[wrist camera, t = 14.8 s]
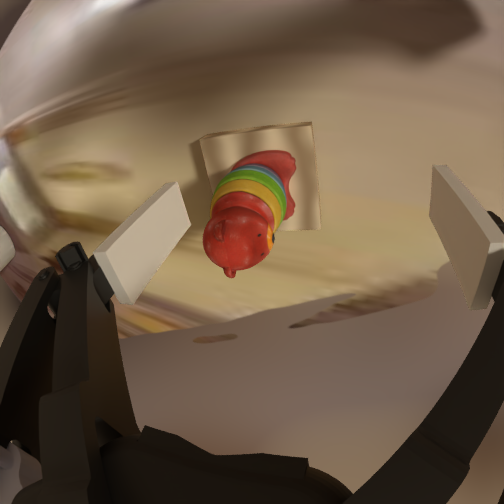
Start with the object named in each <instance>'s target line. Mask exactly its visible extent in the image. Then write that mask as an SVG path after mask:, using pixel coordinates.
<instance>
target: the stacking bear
mask: <svg viewBox="0 0 504 504" xmlns="http://www.w3.org/2000/svg"><path fill="white" fill-rule="evenodd" d="M295 162H296V160H295V158H294V157H292V156H291V154H290V153H289V152H287V151H283V150H266V151H260V152H256V153H253V154H251V155H248V156H246V157H245V158H243V159H241V160H240V161H239V162H237V163H236V164H235V165H234V166H233V168H232V169H231V171H230V172H229V173H228V174H227V175H226V176H225V177H224V178H223V179H222V180H221V181H220V182H219V184H218V185H217V187H216V189H215V191H214V194H213V198H212V202H211V207H210V221H209V222H208V224H207V225H206V227H205V230H204V234H203V247H204V250H205V252H206V254H207V256H208V257H209V258H210V260H211V261H212V262H214V263H215V264H216V265H218V266H219V267H222V268H223V269H224V273H225V275H226V276H227V277H229V278H234V277H235V274H236V270H244V269H248V268H250V267H252V266H254V265H256V264H258V263H259V262H261V261H262V260H263V259H264V258H265V257H266V256H267V255H268V254H269V252H270V250H271V249H272V247H273V244H274V240H275V238H274V233H275V232H276V230H277V229H278V228H279V226H280V225H281V223H282V221H284V220H288V218H289V217H291V216H292V215H293V214H294V208H295V202H294V200H293V198H292V197H291V195H290V192H289V181H290V179H291V177H292V176H293V174H294V173H295V171H296V165H295Z"/></svg>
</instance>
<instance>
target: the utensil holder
mask: <svg viewBox="0 0 504 504" xmlns="http://www.w3.org/2000/svg"><path fill="white" fill-rule="evenodd" d="M14 256H15V248H14V245H13V242H12V240H11V238H10V237H9V235H8V233H7V232H6V231H5V230H4V228H3V227H1V226H0V271H1V270H2V269H3V268H4V267H5V266H6V265H7V264H8V263H9V262H10V261H11V260H12V259H13V257H14Z"/></svg>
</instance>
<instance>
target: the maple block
mask: <svg viewBox="0 0 504 504" xmlns="http://www.w3.org/2000/svg"><path fill="white" fill-rule="evenodd" d="M200 144H201V149H202V153H203V157H204V161H205V165H206V170H207V174H208V178H209V182H210V186H211V190H212V194H214V191H215V189H216V187H217V185H218V184H219V182H220V181H221V180H222V179H223V178H224V177H225V176H226V175H227V174H228V173H229V172H230V171H231V169H232V168H233V166H234V165H235V164H236V163H237V162H239V161H240V160H241V159H243V158H245V157H246V156H248V155H251V154H253V153H256V152H260V151H266V150H283V151H287V152H289V153H290V154H291V156H292V157H294V158H295V160H296V162H295V165H296V171H295V173H294V174H293V176H292V177H291V179H290V181H289V192H290V195H291V197H292V198H293V200H294V202H295V208H294V214H293V215H292V216H291V217H289V218H288V220H284V221H282V223H281V225H280V226H279V228H278V229H277V230H276V231H295V230H321V210H320V197H319V185H318V174H317V164H316V155H315V146H314V137H313V129H312V122H301V123H290V124H279V125H270V126H261V127H253V128H246V129H238V130H232V131H225V132H219V133H213V134H207V135H206V136H204V137H203V138H201V139H200Z"/></svg>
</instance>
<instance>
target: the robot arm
mask: <svg viewBox="0 0 504 504" xmlns="http://www.w3.org/2000/svg"><path fill="white" fill-rule="evenodd" d="M429 217H430V219H431V221H432V223H433V225H434V227H435V229H436V231H437V233H438V235H439V237H440V239H441V241H442V243H443V246H444V248H445V250H446V252H447V255H448V257H449V259H450V261H451V264H452V266H453V269H454V271H455V273H456V276H457V278H458V280H459V283H460V286H461V289H462V291H463V294H464V297H465V299H466V302H467V305H468V308H469V310H479V309H486V308H487V307H488V304H489V302H490V299H491V297H493V299H494V301H495V303H494V305H493V307H492V309H491V311H490V314H489V316H488V318H487V320H486V322H485V324H484V326H483V328H482V330H481V331H480V334H479V335H478V337H477V339H476V341H475V343H474V345H473V346H472V348H471V350H470V352H469V354H468V355H467V357H466V359H465V360H464V362H463V364H462V365H461V367H460V369H459V370H458V372H457V374H456V375H455V377H454V378H453V380H452V381H451V383H450V384H449V386H448V387H447V389H446V390H445V392H444V393H443V395H442V396H441V397H440V399H439V400H438V402H437V403H436V405H435V406H434V407H433V409H432V410H431V411H430V413H429V414H428V415H427V416H426V418H425V419H424V420H423V422H422V423H421V424H420V425H419V427H418V428H417V429H416V430H415V431H414V432H413V433H412V434H411V435H410V436H409V437H408V439H407V440H406V441H405V442H404V443H403V444H402V445H401V447H400V448H399V449H398V450H397V451H396V452H395V453H394V454H393V455H392V457H391V458H390V459H389V460H388V461H387V462H386V463H385V464H384V465H383V466H382V467H381V468H380V469H379V470H378V471H377V472H376V473H375V474H374V475H373V476H372V477H371V478H370V479H369V480H368V481H367V482H366V483H365V484H364V485H363V486H362V487H360V489H358V490H357V491H356V492H355V493H354V494H353V493H352V492H351V491H350V490H349V489H348V488H347V487H346V486H345V485H344V484H342V483H341V482H340V481H339V480H337V479H336V478H334V477H332V476H330V475H329V474H327V473H325V472H323V471H320V470H318V469H315V468H312V467H309V463H308V458H300V457H290V456H280V455H272V454H264V453H259V454H258V453H257V454H242V455H213V454H210V453H208V452H207V451H205V450H203V449H201V448H199V447H197V446H196V445H194V444H192V443H190V442H188V441H187V440H185V439H183V438H181V437H180V436H178V435H175V434H171V433H168V432H165V431H161V430H158V429H155V428H152V427H149V426H146V425H145V426H144V428H143V430H142V432H140V430H139V428H138V426H137V424H136V420H135V416H134V413H133V408H132V404H131V400H130V396H129V391H128V387H127V382H126V377H125V372H124V367H123V362H122V356H121V352H120V345H119V339H118V332H117V325H116V318H115V310H114V304H113V302H112V301H111V299H110V298H111V297H112V296H113V294H115V295H116V297H117V299H118V301H119V302H120V304H129V305H133V304H134V303H135V301H136V300H137V298H138V297H139V295H140V294H141V292H142V291H143V290H144V288H145V287H146V285H147V284H148V283H149V281H150V280H151V278H152V277H153V276H154V274H155V273H156V271H157V270H158V269H159V267H160V266H161V264H162V263H163V262H164V260H165V259H166V258H167V256H168V255H169V254H170V252H171V251H172V249H173V248H174V247H175V245H176V244H177V243H178V241H179V240H180V239H181V237H182V236H183V235H184V234H185V232H186V231H187V230H188V228H189V227H190V226H191V223H190V220H189V217H188V214H187V211H186V208H185V205H184V201H183V198H182V195H181V192H180V189H179V185H178V182H171V183H166V184H164V185H163V186H162V187H161V188H160V189H159V190H158V191H156V192H155V193H154V194H153V195H152V196H151V197H150V198H149V199H147V200H146V201H145V202H144V203H143V204H142V205H141V206H140V207H139V208H138V209H137V210H135V211H134V212H133V213H132V214H131V215H130V216H129V217H128V218H127V219H126V220H125V221H124V222H123V223H122V224H121V225H120V226H119V227H118V228H116V229H115V230H114V231H113V232H112V233H111V234H110V235H109V236H108V237H107V238H106V239H105V240H104V241H103V242H102V243H101V244H100V245H99V246H98V247H97V248H96V249H95V251H94V252H93V255H92V256H91V257H90V258H89V259H88V257H87V256H86V254H85V252H84V250H83V248H82V246H81V244H80V242H73V243H70V244H68V245H66V246H65V247H63V248H62V249H61V250H60V251H59V252H58V253H57V254H56V256H55V257H56V259H57V261H58V262H59V264H60V266H61V268H62V270H63V271H64V274H60V275H58V274H57V272H56V270H55V268H54V267H48V268H46V269H45V268H44V269H43V270H41V271H40V272H39V273H38V275H37V276H36V277H35V278H34V280H33V282H32V284H31V285H30V287H29V289H28V291H27V293H26V295H25V296H24V298H23V300H22V302H21V304H20V306H19V308H18V310H17V312H16V314H15V316H14V319H13V321H12V322H11V325H10V327H9V329H8V331H7V334H6V336H5V338H4V340H3V342H2V345H1V347H0V504H446V503H447V502H448V501H449V499H450V498H451V497H452V496H453V494H454V493H455V492H456V490H457V489H458V488H459V486H460V485H461V483H462V482H463V480H464V479H465V477H466V476H467V473H468V471H469V469H470V465H469V463H470V460H471V458H472V457H473V455H474V453H475V452H476V450H477V448H478V447H479V445H480V444H481V442H482V440H483V438H484V437H485V435H486V433H487V431H488V430H489V428H490V426H491V424H492V423H493V421H494V419H495V417H496V415H497V413H498V411H499V409H500V407H501V405H502V403H503V401H504V222H503V221H502V220H501V219H500V217H498V216H497V215H495V214H494V213H493V212H491V211H486V210H485V209H484V208H483V206H482V205H481V204H480V203H479V201H478V200H477V199H476V198H475V197H474V195H473V194H472V193H471V192H470V191H469V189H468V188H467V187H466V186H465V185H464V184H463V183H462V181H461V180H460V179H459V178H458V177H457V176H456V175H455V174H454V173H453V172H452V170H451V169H450V168H449V167H448V166H447V165H433V167H432V187H431V200H430V211H429ZM47 306H49V308H50V309H51V311H52V312H53V313H54V315H55V316H54V318H52V317H51V316H50V315H49V313H48V309H47ZM10 441H12V442H13V443H11V442H10ZM498 504H504V490H503V492H502V495H501V497H500V500H499V502H498Z"/></svg>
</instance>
